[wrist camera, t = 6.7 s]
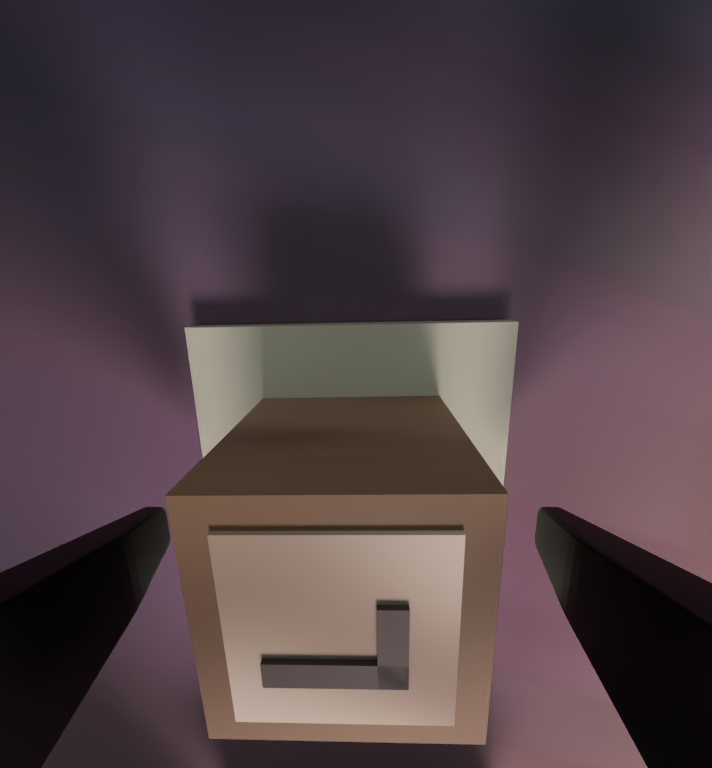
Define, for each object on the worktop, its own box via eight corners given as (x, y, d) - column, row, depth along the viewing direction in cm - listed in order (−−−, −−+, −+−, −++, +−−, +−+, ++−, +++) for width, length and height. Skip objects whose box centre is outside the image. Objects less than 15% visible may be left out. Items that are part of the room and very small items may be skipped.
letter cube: (434, 547, 11) (489, 758, 6) (277, 547, 11) (203, 752, 6) (439, 395, 10) (513, 502, 5) (262, 398, 10) (157, 503, 5)
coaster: (484, 580, 12) (492, 599, 11) (231, 578, 13) (222, 596, 12) (506, 319, 10) (518, 321, 9) (198, 325, 10) (184, 327, 10)
